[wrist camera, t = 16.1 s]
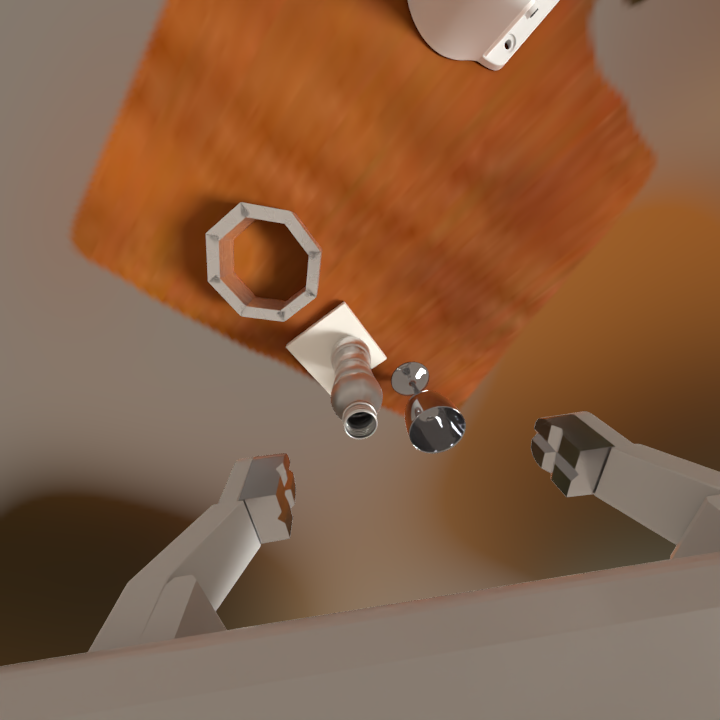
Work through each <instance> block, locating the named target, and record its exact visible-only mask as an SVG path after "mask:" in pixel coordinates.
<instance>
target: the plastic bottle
mask: <svg viewBox="0 0 720 720" xmlns="http://www.w3.org/2000/svg"><path fill="white" fill-rule="evenodd" d="M330 360H331V364H332V367H333V370H334V373H335V377H334V384H333V388H332V392H331V405H332V408H333V410H334V412H335V414H336V415H337V416H338V417H339V418H340V419H341V420H342V421H343V424H344V429H345V432H346V433H347V435H349V436H350V437H351V438H354V439H366V438H368V437H370V436H371V435H373V434H374V432H375V431H376V429H377V424H378V423H377V413H378V412H379V410H380V408H381V404H382V397H383V395H382V390H381V388H380V386H379V383H378V382H377V380H376V379H375V377H374V375H373V373H372V371H371V366H370V364H371V353H370V350H369V348H368V346H367V345H366V343H365V342H364V341H363V340H361V339H360V338H357V337H354V336H348V337H344V338H342V339H340V340H339V341H338V342H337V343H336V344H335V345H334V347H333V349H332V352H331V356H330Z"/></svg>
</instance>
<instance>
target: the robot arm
mask: <svg viewBox="0 0 720 720" xmlns="http://www.w3.org/2000/svg"><path fill="white" fill-rule="evenodd" d="M407 1H408V5H409V9H410V12H411V15H412V18H413V21H414V23H415V25H416V27H417V29H418V31H419V33H420V34H421V36H422V37H423V39H424V40H425V41H426V42H427V43H428V45H429V46H430V47H431V48H433V49H434V50H435V51H436V52H438V53H439V54H441V55H443V56H445V57H447V58H451V59H455V60H474V61H478V62H479V63H480V64H482V65H484V66H485V67H487V68H489V69H491V70H499V69H501V68H502V67H503V66H504V65H505V64H506V62H507V61H508V60H509V59H510V58H511V57H512V55H513V54H514V53H515V52H516V51H517V50H518V48H519V47H520V46H521V45H522V44H523V43H524V41H525V40H526V39H527V38H528V37H529V36H530V34H531V33H532V32H533V31H534V30H535V29H536V27H537V26H538V25H539V24H540V23H541V22H542V20H543V19H544V18H545V17H546V16H547V15H548V13H549V12H550V11H551V10H552V9H553V7H554V6H555V5H556V4H557V3H558V2H559V0H407ZM505 43H507V44H508V49H506V48H505ZM534 429H535V430H536V431H537V434H536V436H534V438H533V439H532V443H531V450H532V454H533V457H534V459H535V460H536V462H537V464H538V465H539V466H540V467H541V468H542V469H544V470H546V471H548V472H550V473H551V480H552V481H553V482H554V483H555V485H556V486H557V487H558V488H559V489H560V490H561V491H562V493H563V494H564V495H565V496H566V497H572V496H580V495H589V494H595V496H596V497H598V498H600V499H601V500H603V501H605V502H606V503H608V504H610V505H611V506H613V507H615V508H616V509H618V510H620V511H621V512H623V513H624V514H626V515H628V516H630V517H631V518H633V519H634V520H636V521H638V522H639V523H641V524H643V525H644V526H646V527H648V528H649V529H651V530H653V531H654V532H656V533H658V534H659V535H661V536H662V537H664V538H666V539H668V540H669V541H671V542H672V543H674V544H676V545H677V546H676V548H675V549H674V551H673V552H672V554H671V556H670V559H669V560H663V561H657V562H650V563H644V564H639V565H632V566H625V567H619V568H613V569H607V570H600V571H594V572H588V573H582V574H576V575H569V576H563V577H557V578H550V579H544V580H538V581H532V582H525V583H519V584H513V585H506V586H500V587H494V588H488V589H482V590H476V591H469V592H463V593H457V594H451V595H444V596H438V597H432V598H426V599H420V600H414V601H408V602H401V603H395V604H388V605H383V606H376V607H370V608H363V609H357V610H351V611H345V612H338V613H332V614H326V615H320V616H313V617H307V618H301V619H295V620H288V621H282V622H276V623H270V624H264V625H257V626H252V627H245V628H239V629H232V630H226V628H225V626H224V625H223V623H222V621H221V620H220V618H219V617H218V615H217V613H216V610H217V609H218V607H219V606H220V604H221V603H222V601H223V600H224V599H225V597H226V595H227V594H228V593H229V591H230V590H231V588H232V587H233V585H234V584H235V583H236V581H237V580H238V578H239V577H240V575H241V574H242V572H243V571H244V569H245V568H246V566H247V565H248V563H249V562H250V560H251V559H252V558H253V556H254V555H255V553H256V552H257V550H258V549H259V548H260V546H261V545H260V544H261V543H267V542H273V541H278V540H284V539H289V538H290V535H291V528H292V520H293V516H292V512H291V507H292V506H293V505H294V504H295V497H296V485H295V478H294V474H293V472H291V471H290V470H289V467H290V460H289V457H288V455H287V454H286V453H283V454H275V455H266V456H257V457H252V458H243V459H238V460H237V461H236V462H235V464H234V466H233V469H232V472H231V474H230V476H229V479H228V481H227V483H226V486H225V488H224V491H223V493H222V496H221V498H220V500H219V503H218V504H215V505H212V506H211V507H210V508H209V509H208V510H207V511H206V512H205V513H203V514H202V515H201V516H200V517H199V518H198V519H197V520H196V521H195V522H194V523H192V524H191V526H189V527H188V528H187V529H186V530H185V531H184V532H183V533H182V534H180V535H179V536H178V537H177V538H176V539H175V540H174V541H173V542H172V543H171V544H169V546H167V547H166V548H165V549H164V550H163V551H162V552H161V553H160V554H159V555H158V556H156V557H155V558H154V559H153V560H152V561H151V562H150V563H149V564H148V565H147V566H145V567H144V568H143V569H142V570H141V571H140V572H139V573H138V574H137V575H136V576H135V577H133V578H132V579H131V580H130V581H129V582H128V583H127V585H126V587H125V588H124V590H123V592H122V594H121V595H120V598H119V599H118V601H117V602H116V604H115V606H114V608H113V609H112V611H111V613H110V615H109V616H108V618H107V620H106V622H105V623H104V625H103V627H102V628H101V630H100V632H99V634H98V635H97V637H96V639H95V641H94V643H93V644H92V646H91V648H90V649H89V651H88V653H82V654H75V655H69V656H63V657H56V658H50V659H44V660H38V661H31V662H25V663H19V664H12V665H6V666H0V720H720V472H718V471H715V470H712V469H709V468H706V467H704V466H701V465H698V464H695V463H692V462H690V461H687V460H684V459H681V458H678V457H675V456H672V455H670V454H667V453H664V452H661V451H658V450H656V449H652V448H650V447H647V446H644V445H641V444H633V443H631V442H630V441H629V440H627V439H626V438H625V437H623V436H622V435H620V434H619V433H618V432H616V431H615V430H613V429H612V428H611V427H609V426H608V425H606V424H605V423H603V422H602V421H601V420H600V419H598V418H597V417H595V416H594V415H593V414H591V413H589V412H586V411H583V412H576V413H570V414H565V415H558V416H552V417H545V418H539V419H538V420H537V421H536V423H535V427H534Z"/></svg>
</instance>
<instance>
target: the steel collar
mask: <svg viewBox="0 0 720 720" xmlns="http://www.w3.org/2000/svg"><path fill="white" fill-rule="evenodd" d="M256 219H260V220H266V221H271V222H277V223H283V224H285V225H286V226H287V228H288V229H289V230H290V231H291V233H292V234H293V235H294V237H295V238H296V239H297V241H298V242H299V243H300V245H301V246H302V247H303V249H304V250H305V251H306V253H307V254H308V255H309V259H308V270H307V282H306V286H305V287H303V288H302V289H301V290H299V291H298V292H297V293H296V294H294V295H293V296H292V297H290V298H289V299H288V300H287V301H284V300H276V299H269V298H262V297H256V296H255V295H254V294H253V293H252V292H251V290H250V289H249V288H248V287H247V286H246V285H245V284H244V283H243V282H242V280H241V279H240V278H239V277H238V276H237V275H236V274H235V273H234V239H235V238H236V237H237V236H238V235H239V234H240V233H241V232H243V231H244V230H245V229H246V228H247V227H248V226H250V225H251V224H252V223H253V222H254V221H255V220H256ZM206 253H207V274H208V282H209V283H210V284H211V285H212V286H213V288H214V289H215V290H216V291H217V292H218V293H219V294H220V295H221V296H222V297H223V298H224V299H225V300H226V301H227V302H228V303H229V304H230V305H231V306H232V307H233V308H234V309H235V311H236V312H237V313H238V314H239V315H240V316H243V317H251V318H259V319H267V320H274V321H282V322H284V321H286V320H287V319H288V318H290V317H291V316H292V315H294V314H295V313H296V312H297V311H299V310H300V309H301V308H303V307H304V306H305V305H307V304H308V303H309V302H311V301H312V300H313V299H314V298H316V297H317V292H318V285H319V275H320V266H321V256H322V248H321V247H320V246H319V244H318V243H317V242H316V240H315V239H314V237H313V236H312V235H311V233H310V232H309V231H308V229H307V228H306V227H305V225H304V224H303V222H302V221H301V220H300V218H299V217H298V216H297V214H296V213H294V212H291V211H286V210H281V209H276V208H270V207H265V206H259V205H254V204H248V203H243V202H240V203H239V204H238V205H237V206H236V207H235V208H233V209H232V210H231V211H230V212H229V213H228V214H227V215H226V216H224V217H223V218H222V219H221V220H220V221H219V222H218V223H217V224H216V225H214V226H213V227H212V228H211V229H210V230H209V231H208V232H207V233H206Z"/></svg>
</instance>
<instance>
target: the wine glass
mask: <svg viewBox="0 0 720 720" xmlns="http://www.w3.org/2000/svg"><path fill="white" fill-rule="evenodd" d="M391 382H392V386H393V388H394V390H395V391H396V392H397V393H399V394H401V395H404V396H412V395H413V396H412V397H411V398H410V399H409V401H408V402H407V404H406V408H405V424H406V428H407V432H408V435H409V437H410V440H411V442H412V444H413V445H414V447H416V448H417V449H418V450H420V451H422V452H426V453H439V452H444V451H446V450H448V449H450V448H452V447H454V446H455V445H456V444H457V443H458V442H459V441H460V440H461V439H462V437H463V435H464V433H465V428H466V423H465V419H464V418H463V416H462V414H461V413H460V411H459V410H458V409H457V407H456V406H455V405H454V404H453V403H452V402H451V401H450V400H449V399H448V398H447V397H445V396H444V395H442V394H441V393H438V392H436V391H432V390H426V391H423V390H424V389H425V387H426V386H427V384H428V382H429V372H428V370H427V368H426V367H425V366H424V365H422V364H420V363H417V362H408V363H405V364H403V365H401V366H399V367H398V368H397V369H396V370H395V372H394V373H393V375H392V380H391Z"/></svg>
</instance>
